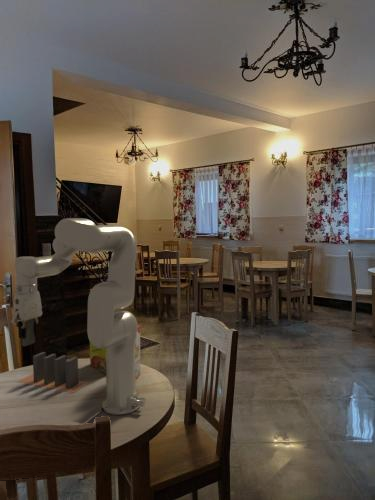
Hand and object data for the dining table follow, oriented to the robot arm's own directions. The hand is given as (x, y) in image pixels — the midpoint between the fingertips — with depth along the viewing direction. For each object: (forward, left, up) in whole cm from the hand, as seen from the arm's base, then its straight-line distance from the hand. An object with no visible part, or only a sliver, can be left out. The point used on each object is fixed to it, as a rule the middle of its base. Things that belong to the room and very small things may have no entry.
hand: (28, 335), depth 147 cm
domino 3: (-10, 0, -17) cm, 20 cm away
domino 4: (-15, 0, -17) cm, 23 cm away
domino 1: (0, 0, -3) cm, 3 cm away
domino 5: (-20, 0, -17) cm, 26 cm away
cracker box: (-37, -11, -18) cm, 43 cm away
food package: (-20, -17, -18) cm, 32 cm away
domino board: (-11, 0, -18) cm, 21 cm away
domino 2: (-5, 0, -17) cm, 18 cm away
